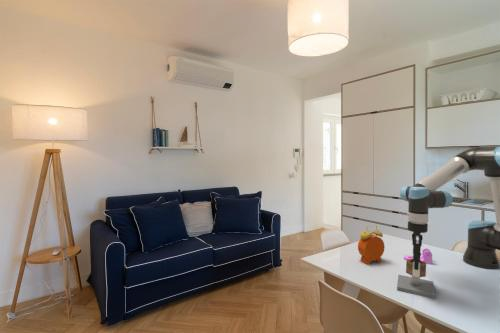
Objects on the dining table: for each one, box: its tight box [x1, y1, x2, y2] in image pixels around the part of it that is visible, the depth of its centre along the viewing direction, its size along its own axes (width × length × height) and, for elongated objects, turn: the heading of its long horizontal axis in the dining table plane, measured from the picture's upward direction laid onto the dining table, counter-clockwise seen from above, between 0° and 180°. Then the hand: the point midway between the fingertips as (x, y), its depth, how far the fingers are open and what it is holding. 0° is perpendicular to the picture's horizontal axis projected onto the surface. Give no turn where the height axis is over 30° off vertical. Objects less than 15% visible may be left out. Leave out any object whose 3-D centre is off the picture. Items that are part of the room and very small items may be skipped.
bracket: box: [403, 247, 433, 265], centre depth 153 cm, size 13×6×7 cm, turn 66°
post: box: [396, 274, 437, 300], centre depth 122 cm, size 14×14×10 cm
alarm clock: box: [357, 224, 385, 265], centre depth 152 cm, size 13×6×20 cm, turn 108°
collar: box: [405, 259, 427, 278], centre depth 122 cm, size 7×7×5 cm
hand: (415, 272), depth 122 cm, fingers closed on collar, 7 cm apart
